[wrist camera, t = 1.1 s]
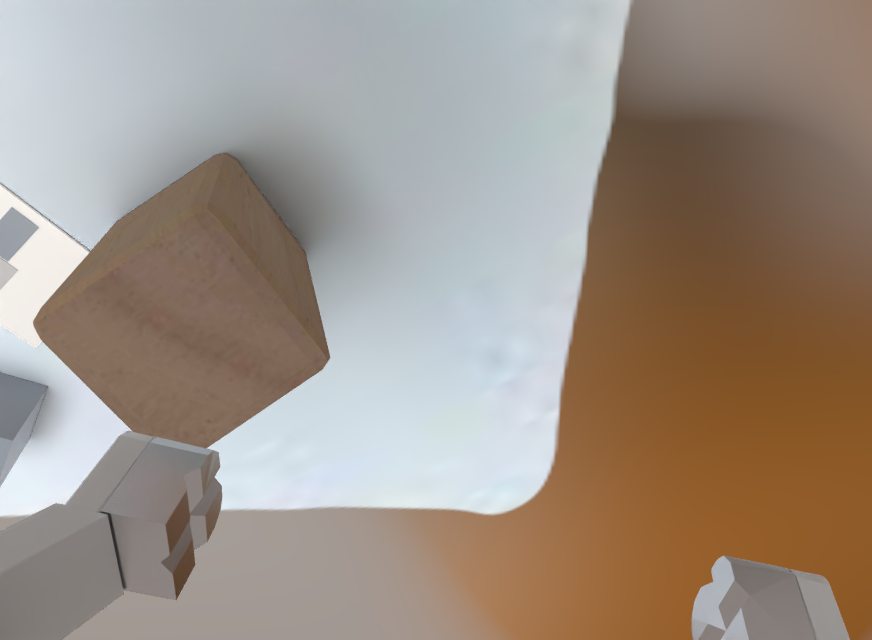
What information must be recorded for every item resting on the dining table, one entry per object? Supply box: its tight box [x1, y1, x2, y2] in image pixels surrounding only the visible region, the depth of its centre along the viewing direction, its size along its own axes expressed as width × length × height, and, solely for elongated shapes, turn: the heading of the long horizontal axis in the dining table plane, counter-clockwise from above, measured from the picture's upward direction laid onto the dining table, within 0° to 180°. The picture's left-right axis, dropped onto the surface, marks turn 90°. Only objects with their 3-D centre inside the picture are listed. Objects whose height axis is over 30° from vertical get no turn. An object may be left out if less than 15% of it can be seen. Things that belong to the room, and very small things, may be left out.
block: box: [33, 153, 330, 448], centre depth 41 cm, size 10×10×20 cm
